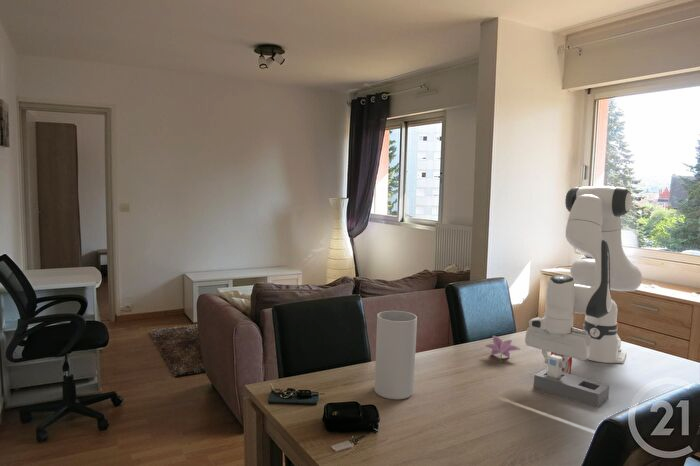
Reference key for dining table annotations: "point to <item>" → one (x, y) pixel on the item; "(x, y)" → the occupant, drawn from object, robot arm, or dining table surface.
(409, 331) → the cylinder vase
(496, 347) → the lily
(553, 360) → the plug
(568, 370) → the soda can
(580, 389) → the socket block
